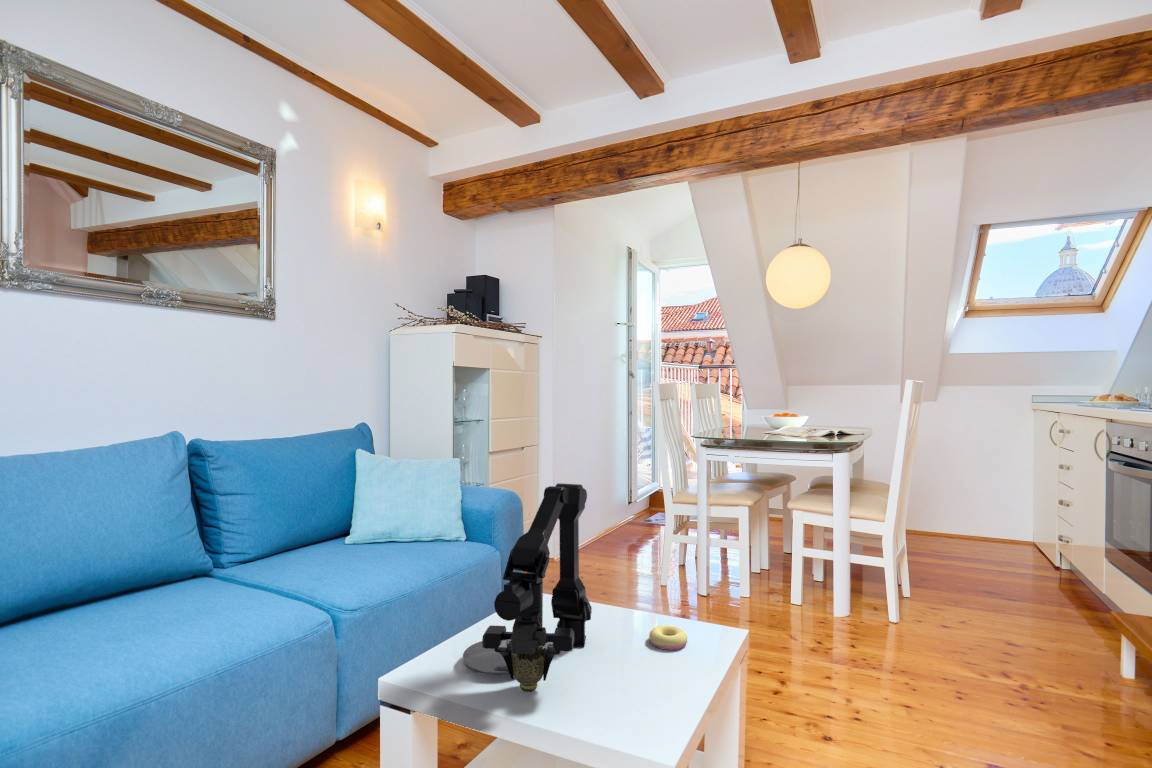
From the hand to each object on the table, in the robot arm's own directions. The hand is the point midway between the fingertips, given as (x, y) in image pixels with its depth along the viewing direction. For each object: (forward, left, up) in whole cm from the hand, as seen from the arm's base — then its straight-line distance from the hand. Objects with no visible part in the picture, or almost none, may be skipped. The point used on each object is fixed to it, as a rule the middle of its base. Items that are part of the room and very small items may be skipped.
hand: (528, 679), depth 126 cm
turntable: (+8, -12, -1) cm, 14 cm away
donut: (-31, -27, -2) cm, 41 cm away
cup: (0, 0, -2) cm, 2 cm away
